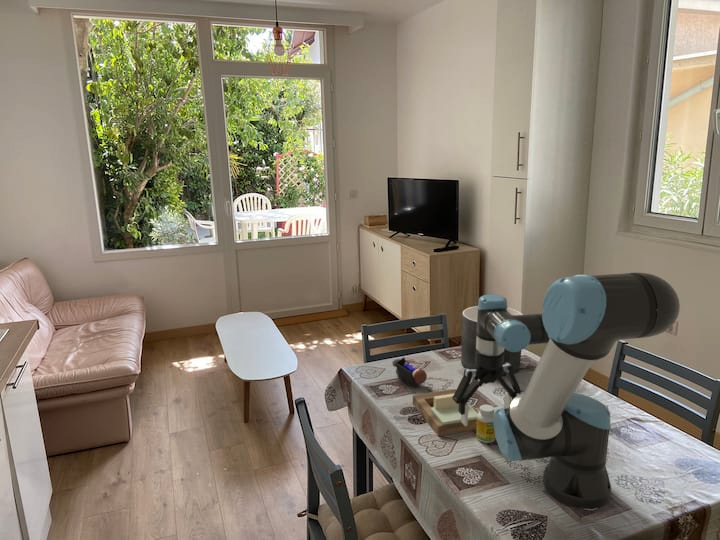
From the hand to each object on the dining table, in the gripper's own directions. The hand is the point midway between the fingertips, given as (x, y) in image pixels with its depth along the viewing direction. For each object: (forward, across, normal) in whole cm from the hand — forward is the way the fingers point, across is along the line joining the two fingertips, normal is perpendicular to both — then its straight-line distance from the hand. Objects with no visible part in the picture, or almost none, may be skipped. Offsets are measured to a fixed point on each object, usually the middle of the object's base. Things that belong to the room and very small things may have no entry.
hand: (485, 419), depth 146 cm
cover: (+2, +5, -9) cm, 11 cm away
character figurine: (+7, +8, -40) cm, 41 cm away
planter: (+7, -27, -44) cm, 52 cm away
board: (+6, +5, -14) cm, 16 cm away
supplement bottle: (+6, 0, +1) cm, 6 cm away
